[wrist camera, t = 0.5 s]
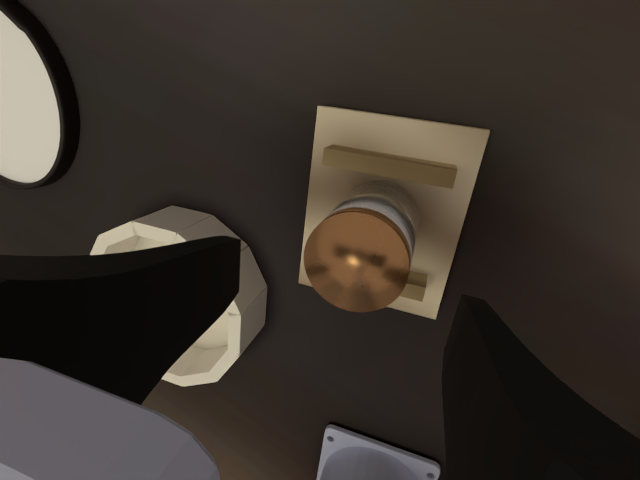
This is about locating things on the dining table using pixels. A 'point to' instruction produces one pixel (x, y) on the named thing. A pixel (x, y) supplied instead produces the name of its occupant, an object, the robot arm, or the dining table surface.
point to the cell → (364, 247)
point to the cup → (239, 318)
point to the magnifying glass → (34, 103)
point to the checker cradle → (405, 170)
